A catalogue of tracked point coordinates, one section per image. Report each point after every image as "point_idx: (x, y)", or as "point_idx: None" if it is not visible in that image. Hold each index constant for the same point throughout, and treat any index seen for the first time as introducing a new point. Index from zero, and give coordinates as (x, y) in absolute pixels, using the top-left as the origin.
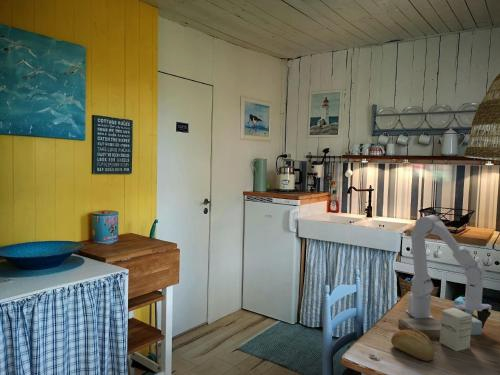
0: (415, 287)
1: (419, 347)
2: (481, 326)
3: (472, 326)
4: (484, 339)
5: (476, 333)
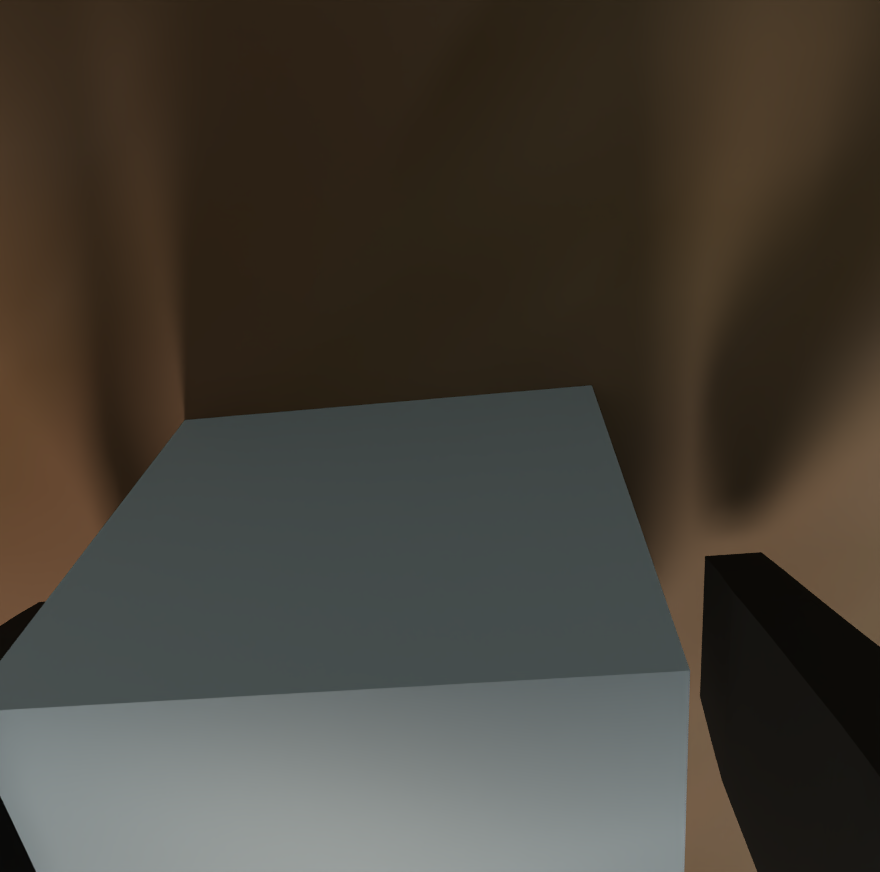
0: None
1: None
2: (94, 563)
3: (529, 542)
4: (275, 23)
5: (349, 418)
